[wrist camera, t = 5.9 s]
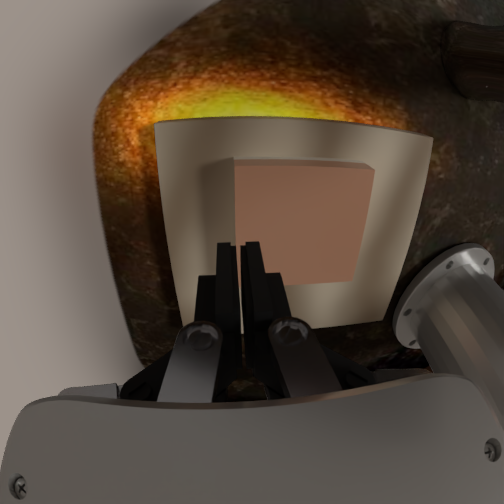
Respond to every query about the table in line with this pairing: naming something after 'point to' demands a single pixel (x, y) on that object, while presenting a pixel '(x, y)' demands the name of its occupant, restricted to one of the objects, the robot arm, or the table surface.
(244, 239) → the tile
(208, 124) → the board
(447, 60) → the beer glass
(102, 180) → the table surface
